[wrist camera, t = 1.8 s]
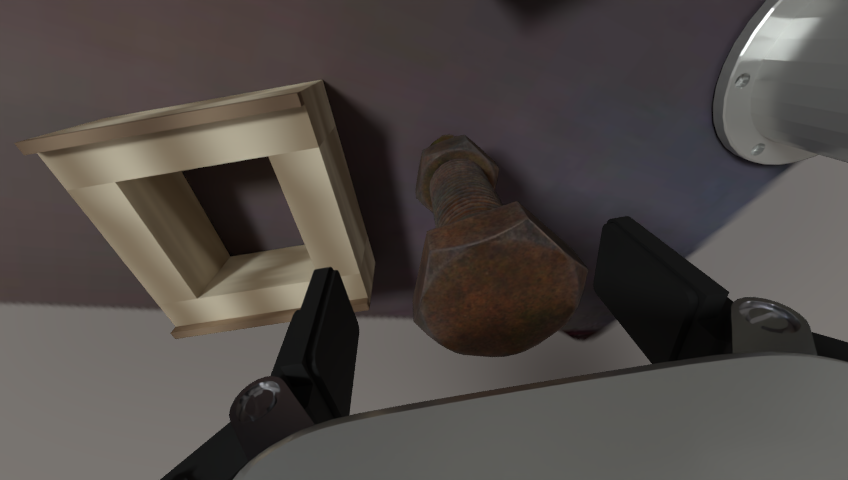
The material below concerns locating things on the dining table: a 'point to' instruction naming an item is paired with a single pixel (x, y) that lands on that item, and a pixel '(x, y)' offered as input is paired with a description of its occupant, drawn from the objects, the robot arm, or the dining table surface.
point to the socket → (188, 223)
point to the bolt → (487, 260)
